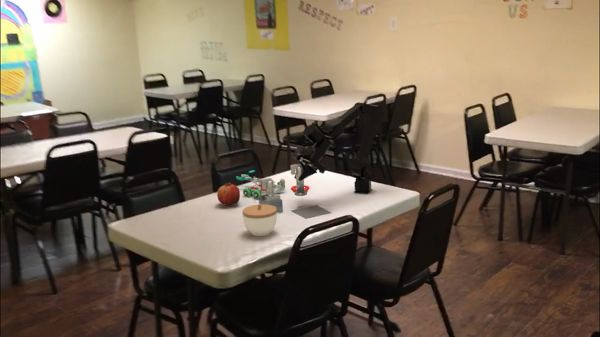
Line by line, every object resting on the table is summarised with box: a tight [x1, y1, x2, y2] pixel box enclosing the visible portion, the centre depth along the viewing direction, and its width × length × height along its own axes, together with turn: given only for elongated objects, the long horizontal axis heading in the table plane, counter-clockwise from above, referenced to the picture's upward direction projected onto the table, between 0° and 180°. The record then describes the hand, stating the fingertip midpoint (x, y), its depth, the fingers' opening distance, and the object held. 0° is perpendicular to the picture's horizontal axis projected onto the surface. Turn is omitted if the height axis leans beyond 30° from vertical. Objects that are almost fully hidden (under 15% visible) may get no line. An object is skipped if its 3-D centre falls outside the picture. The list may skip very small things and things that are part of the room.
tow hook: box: [290, 184, 310, 193], centre depth 271 cm, size 8×13×9 cm
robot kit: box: [235, 170, 286, 200], centre depth 270 cm, size 19×25×9 cm
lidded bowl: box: [241, 203, 278, 237], centre depth 217 cm, size 13×13×11 cm
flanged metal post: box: [290, 163, 308, 197], centre depth 243 cm, size 6×5×13 cm
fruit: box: [216, 181, 241, 207], centre depth 252 cm, size 11×10×10 cm
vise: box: [258, 177, 284, 213], centre depth 243 cm, size 7×10×14 cm
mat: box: [290, 204, 332, 219], centre depth 240 cm, size 12×12×1 cm
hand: (297, 179), depth 242 cm, fingers closed on flanged metal post, 3 cm apart
